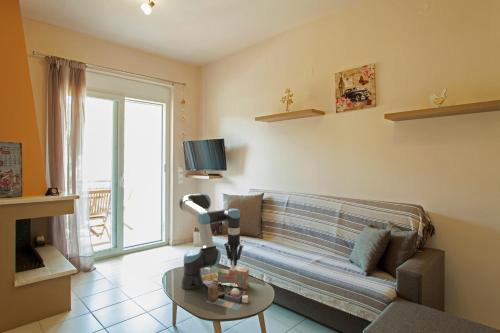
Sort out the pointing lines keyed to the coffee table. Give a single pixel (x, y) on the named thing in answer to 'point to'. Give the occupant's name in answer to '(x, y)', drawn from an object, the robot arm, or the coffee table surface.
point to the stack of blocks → (234, 276)
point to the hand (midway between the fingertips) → (233, 270)
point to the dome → (235, 292)
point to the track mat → (227, 304)
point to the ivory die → (245, 298)
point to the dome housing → (234, 299)
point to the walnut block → (212, 293)
